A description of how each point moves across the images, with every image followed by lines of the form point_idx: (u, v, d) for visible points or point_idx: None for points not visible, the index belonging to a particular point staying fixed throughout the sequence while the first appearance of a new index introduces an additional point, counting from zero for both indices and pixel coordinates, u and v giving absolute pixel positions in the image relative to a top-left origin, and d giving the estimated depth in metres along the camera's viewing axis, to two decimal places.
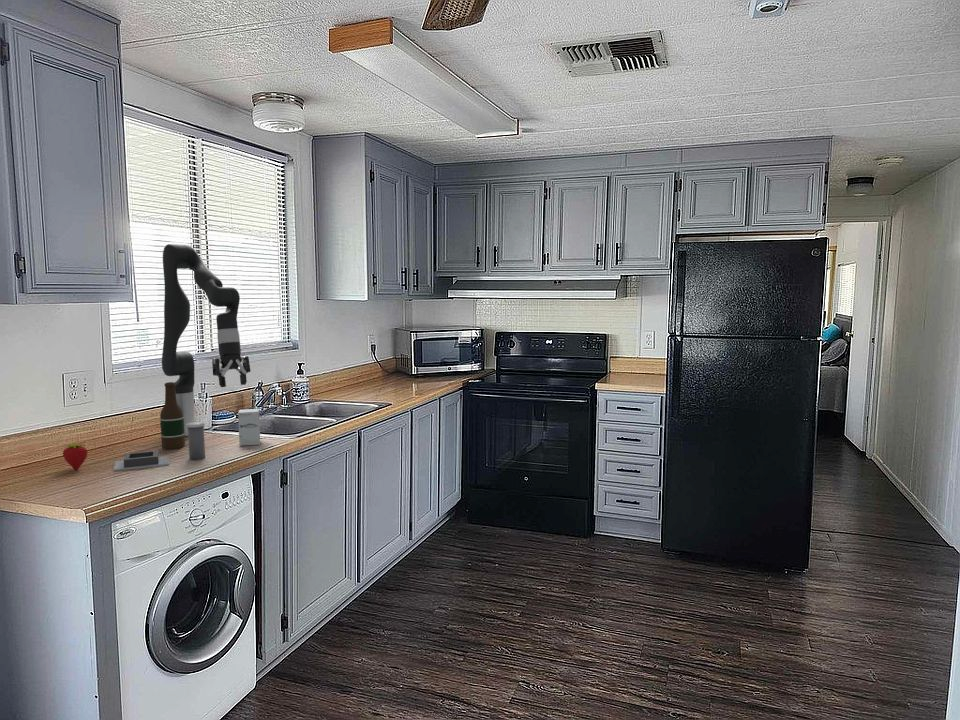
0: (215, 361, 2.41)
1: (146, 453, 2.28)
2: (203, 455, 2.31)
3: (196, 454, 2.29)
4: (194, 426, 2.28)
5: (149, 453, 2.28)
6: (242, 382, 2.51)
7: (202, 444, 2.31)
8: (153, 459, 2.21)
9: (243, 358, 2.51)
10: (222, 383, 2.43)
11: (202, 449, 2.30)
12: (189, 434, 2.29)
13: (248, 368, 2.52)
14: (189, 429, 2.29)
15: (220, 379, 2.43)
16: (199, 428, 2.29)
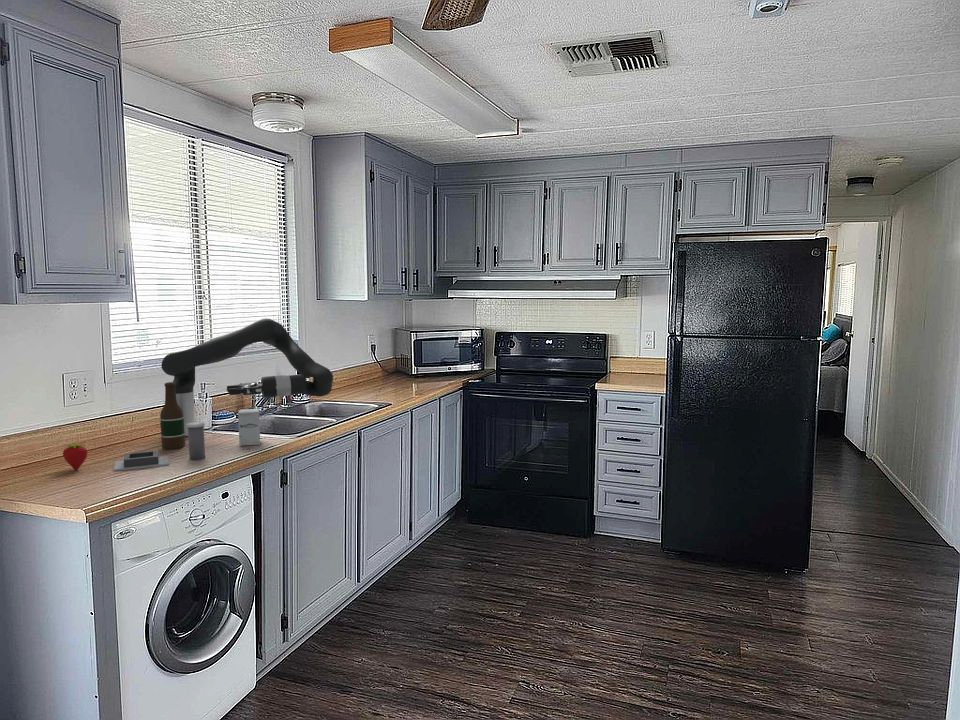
0: (258, 392, 2.32)
1: (146, 453, 2.28)
2: (203, 455, 2.31)
3: (196, 454, 2.29)
4: (194, 426, 2.28)
5: (149, 453, 2.28)
6: (229, 389, 2.38)
7: (202, 444, 2.31)
8: (153, 459, 2.21)
9: None
10: (233, 393, 2.30)
11: (202, 449, 2.30)
12: (189, 434, 2.29)
13: None
14: (189, 429, 2.29)
15: (238, 392, 2.30)
16: (199, 428, 2.29)
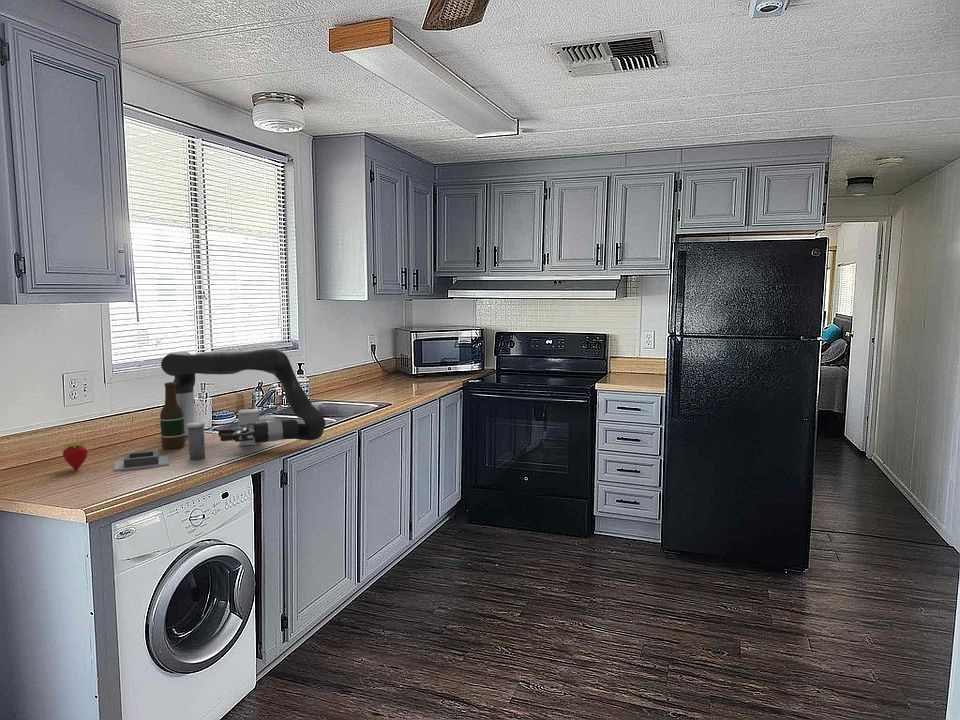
0: (250, 438, 2.32)
1: (146, 453, 2.28)
2: (203, 455, 2.31)
3: (196, 454, 2.29)
4: (194, 426, 2.28)
5: (149, 453, 2.28)
6: (221, 433, 2.38)
7: (202, 444, 2.31)
8: (153, 459, 2.21)
9: None
10: (224, 440, 2.31)
11: (202, 449, 2.30)
12: (189, 434, 2.29)
13: None
14: (189, 429, 2.29)
15: (229, 438, 2.31)
16: (199, 428, 2.29)
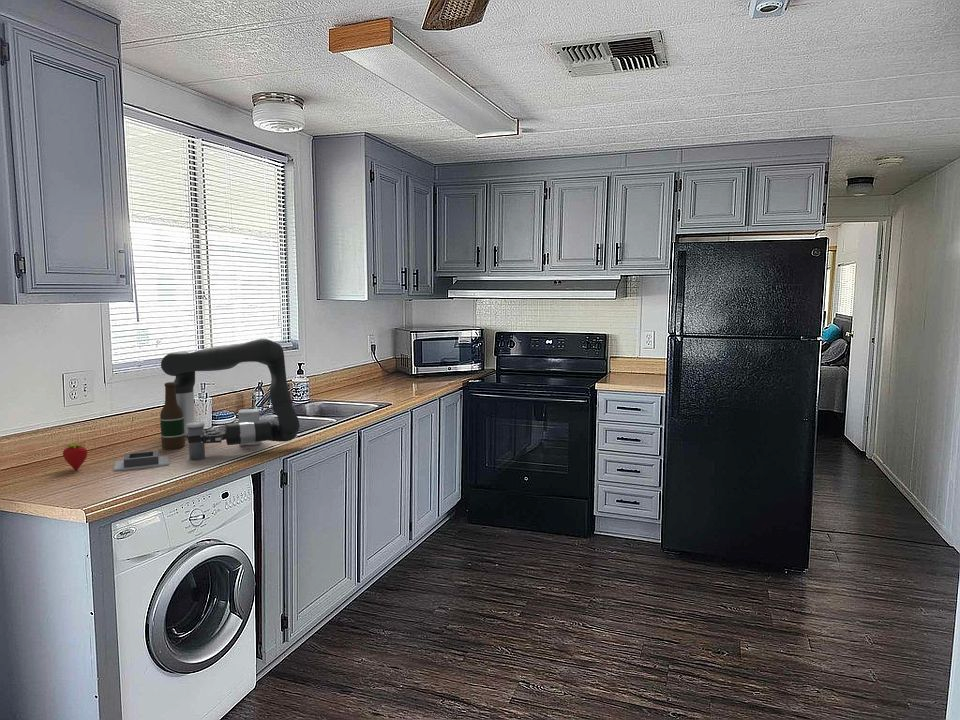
0: (217, 441, 2.28)
1: (146, 453, 2.28)
2: (203, 455, 2.31)
3: (196, 454, 2.29)
4: (194, 426, 2.28)
5: (149, 453, 2.28)
6: None
7: (202, 444, 2.31)
8: (153, 459, 2.21)
9: None
10: (192, 441, 2.27)
11: (202, 449, 2.30)
12: (189, 434, 2.29)
13: None
14: (189, 429, 2.29)
15: (197, 440, 2.28)
16: (199, 428, 2.29)
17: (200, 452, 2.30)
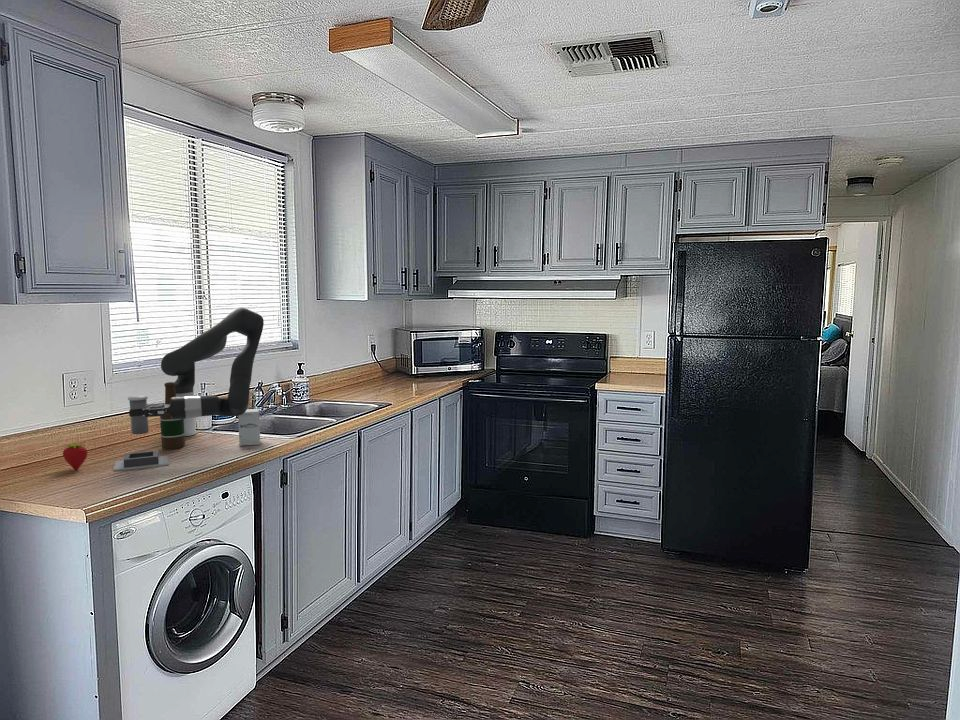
0: (160, 414, 2.20)
1: (146, 453, 2.28)
2: (146, 429, 2.23)
3: (138, 428, 2.21)
4: (136, 399, 2.20)
5: (149, 453, 2.28)
6: None
7: (145, 418, 2.22)
8: (153, 459, 2.21)
9: None
10: (133, 415, 2.19)
11: (145, 423, 2.22)
12: (131, 407, 2.21)
13: None
14: (131, 402, 2.20)
15: (139, 413, 2.19)
16: (141, 401, 2.21)
17: (142, 426, 2.22)
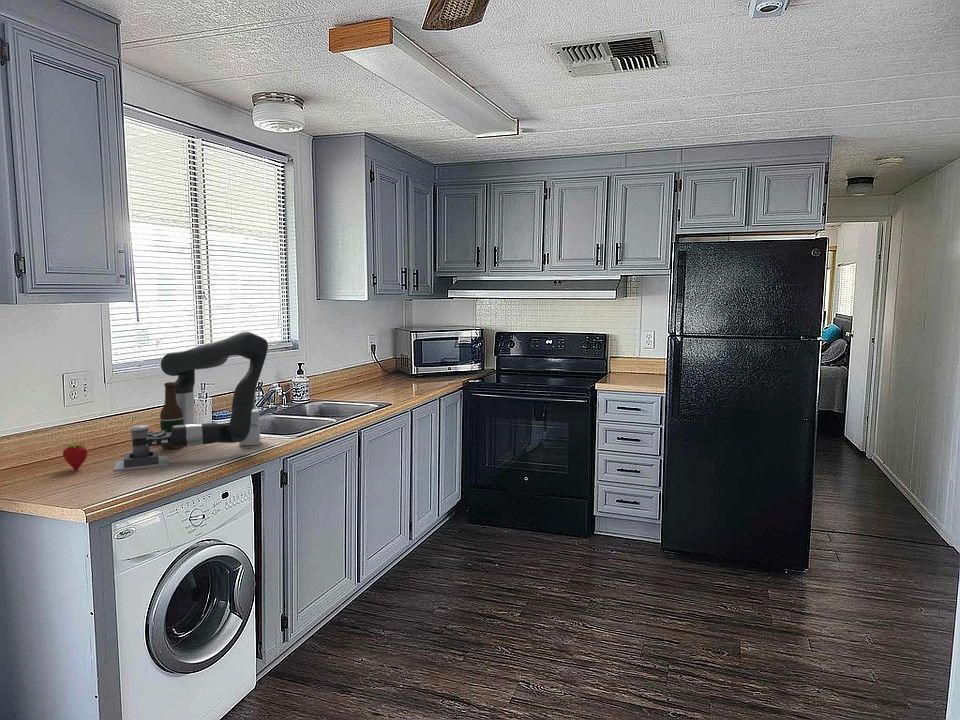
0: (164, 443, 2.21)
1: None
2: None
3: None
4: (137, 429, 2.21)
5: None
6: None
7: (147, 448, 2.23)
8: (153, 459, 2.21)
9: None
10: (137, 444, 2.19)
11: (146, 453, 2.23)
12: (133, 437, 2.22)
13: None
14: (133, 432, 2.21)
15: (142, 443, 2.20)
16: (143, 431, 2.22)
17: (144, 456, 2.23)
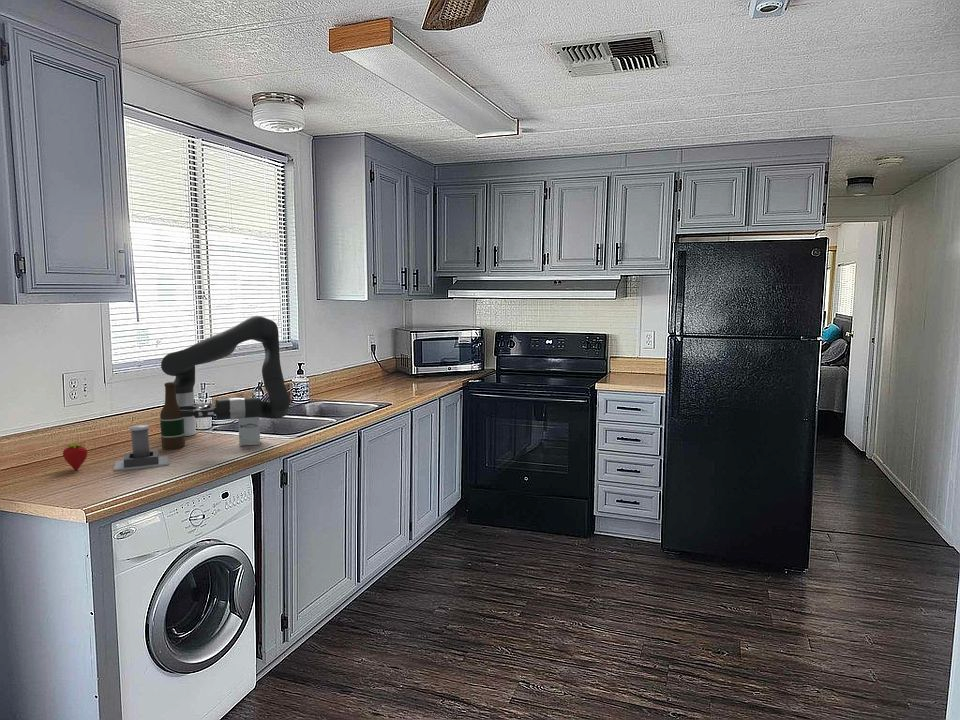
0: (210, 415, 2.27)
1: None
2: None
3: None
4: (137, 429, 2.21)
5: None
6: (182, 409, 2.34)
7: (147, 448, 2.23)
8: (153, 459, 2.21)
9: None
10: (184, 416, 2.26)
11: (146, 453, 2.23)
12: (132, 437, 2.22)
13: None
14: (132, 432, 2.21)
15: (189, 414, 2.26)
16: (143, 431, 2.22)
17: (144, 456, 2.23)
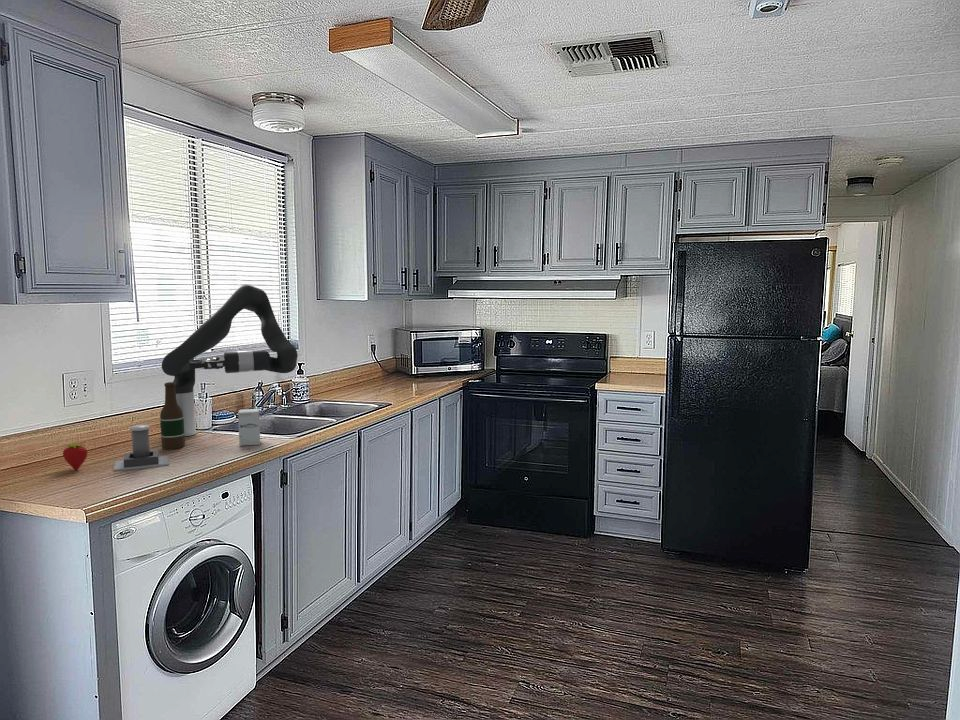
0: (220, 366, 2.29)
1: None
2: None
3: None
4: (137, 429, 2.20)
5: None
6: None
7: (147, 448, 2.23)
8: (153, 459, 2.21)
9: None
10: (193, 367, 2.28)
11: (146, 453, 2.23)
12: (133, 437, 2.22)
13: None
14: (133, 432, 2.21)
15: (198, 365, 2.28)
16: (143, 431, 2.22)
17: (144, 456, 2.23)
